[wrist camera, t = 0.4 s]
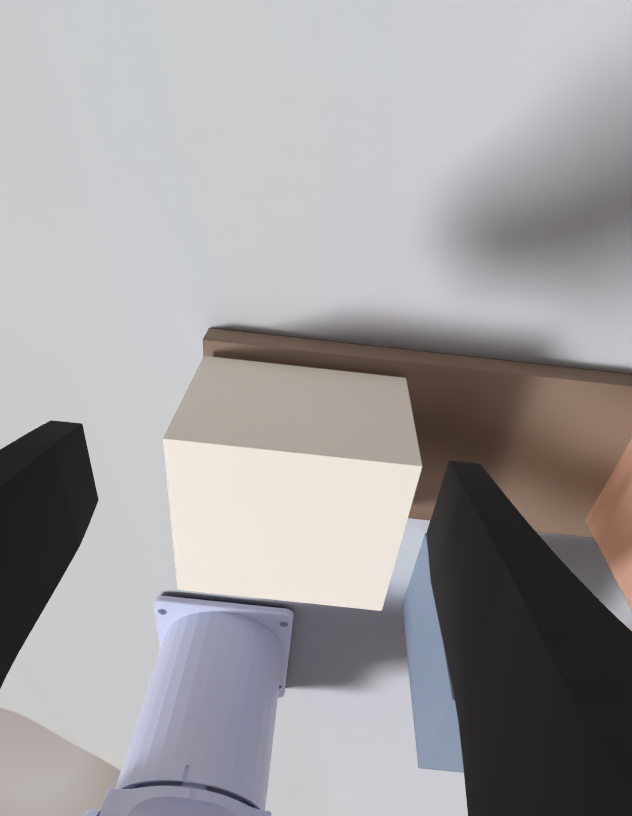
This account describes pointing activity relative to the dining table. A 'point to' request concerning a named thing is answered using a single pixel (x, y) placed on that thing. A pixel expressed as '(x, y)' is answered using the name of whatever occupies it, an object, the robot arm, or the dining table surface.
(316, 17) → the dining table surface
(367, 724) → the dining table surface
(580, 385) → the rack
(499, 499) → the robot arm
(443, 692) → the tall grey-blue block
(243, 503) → the bookend
